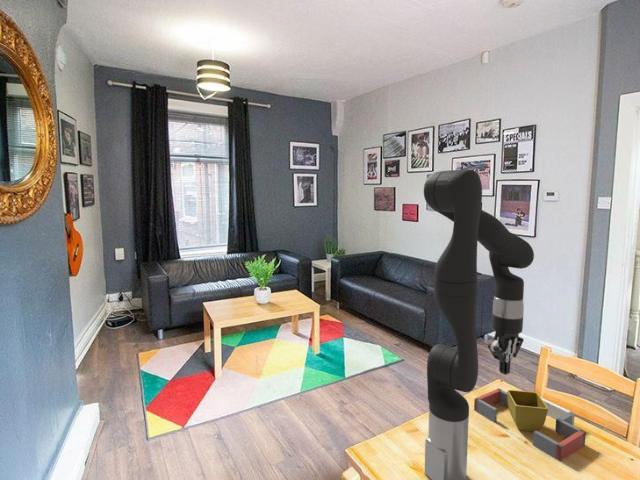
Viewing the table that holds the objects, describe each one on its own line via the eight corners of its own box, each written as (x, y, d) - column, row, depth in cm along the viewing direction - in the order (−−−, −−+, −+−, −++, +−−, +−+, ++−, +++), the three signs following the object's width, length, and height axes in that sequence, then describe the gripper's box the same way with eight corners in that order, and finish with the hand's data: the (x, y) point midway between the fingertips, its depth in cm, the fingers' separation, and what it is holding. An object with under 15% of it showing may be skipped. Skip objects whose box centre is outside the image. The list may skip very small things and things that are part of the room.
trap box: (596, 437, 104) (597, 424, 104) (560, 461, 95) (561, 447, 94) (510, 393, 127) (510, 383, 127) (474, 410, 118) (474, 398, 117)
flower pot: (547, 437, 104) (549, 408, 103) (514, 434, 106) (515, 405, 105) (535, 419, 113) (537, 392, 112) (505, 416, 115) (506, 389, 113)
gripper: (505, 321, 93) (502, 385, 95) (535, 312, 99) (531, 372, 101) (479, 313, 99) (477, 373, 101) (509, 305, 106) (506, 362, 108)
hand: (504, 372), depth 101 cm, fingers closed
